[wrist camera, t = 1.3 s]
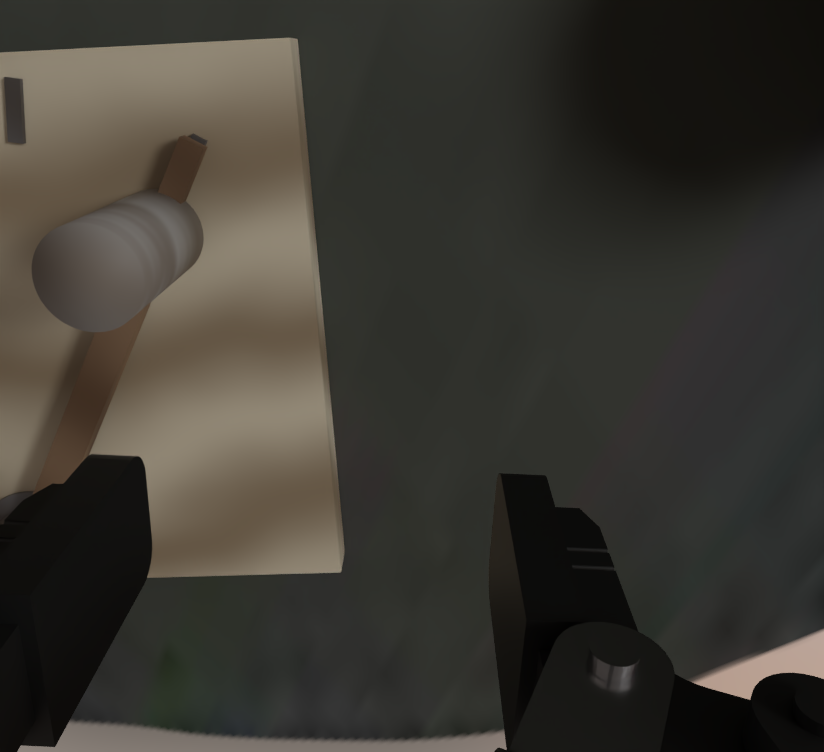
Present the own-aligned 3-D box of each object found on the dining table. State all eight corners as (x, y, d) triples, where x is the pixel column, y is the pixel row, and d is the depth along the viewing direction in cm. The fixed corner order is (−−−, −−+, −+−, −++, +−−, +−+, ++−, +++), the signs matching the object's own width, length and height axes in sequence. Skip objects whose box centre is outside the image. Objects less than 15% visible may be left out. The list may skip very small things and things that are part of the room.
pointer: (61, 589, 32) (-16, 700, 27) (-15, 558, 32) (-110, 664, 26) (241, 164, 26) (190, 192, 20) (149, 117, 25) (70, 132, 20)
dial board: (-402, 74, 27) (-454, 75, 25) (297, 39, 26) (289, 37, 24) (-204, 570, 34) (-234, 595, 33) (344, 555, 33) (340, 579, 32)
